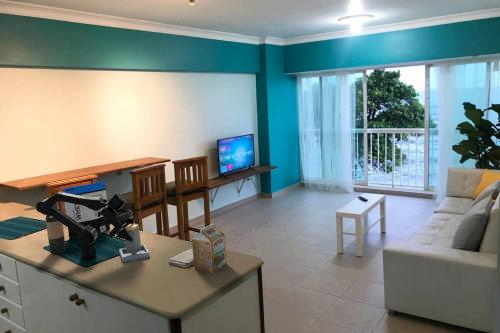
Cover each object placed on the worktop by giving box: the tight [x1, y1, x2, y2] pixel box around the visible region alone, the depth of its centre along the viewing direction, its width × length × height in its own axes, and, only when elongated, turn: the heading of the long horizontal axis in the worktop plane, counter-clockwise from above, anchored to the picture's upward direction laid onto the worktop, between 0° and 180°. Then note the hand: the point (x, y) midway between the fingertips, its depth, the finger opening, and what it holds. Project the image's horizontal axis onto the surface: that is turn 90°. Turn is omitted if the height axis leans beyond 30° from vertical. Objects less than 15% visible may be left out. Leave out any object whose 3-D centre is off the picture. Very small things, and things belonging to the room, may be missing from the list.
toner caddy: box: [124, 223, 142, 254], centre depth 204 cm, size 5×6×14 cm
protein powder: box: [62, 180, 111, 241], centre depth 241 cm, size 10×24×30 cm, turn 132°
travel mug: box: [45, 215, 67, 256], centre depth 214 cm, size 8×8×20 cm
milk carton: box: [191, 223, 228, 274], centre depth 186 cm, size 11×11×19 cm
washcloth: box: [168, 248, 194, 269], centre depth 197 cm, size 12×18×3 cm, turn 148°
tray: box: [118, 244, 150, 263], centre depth 206 cm, size 13×13×3 cm
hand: (135, 238), depth 204 cm, fingers closed on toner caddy, 6 cm apart
